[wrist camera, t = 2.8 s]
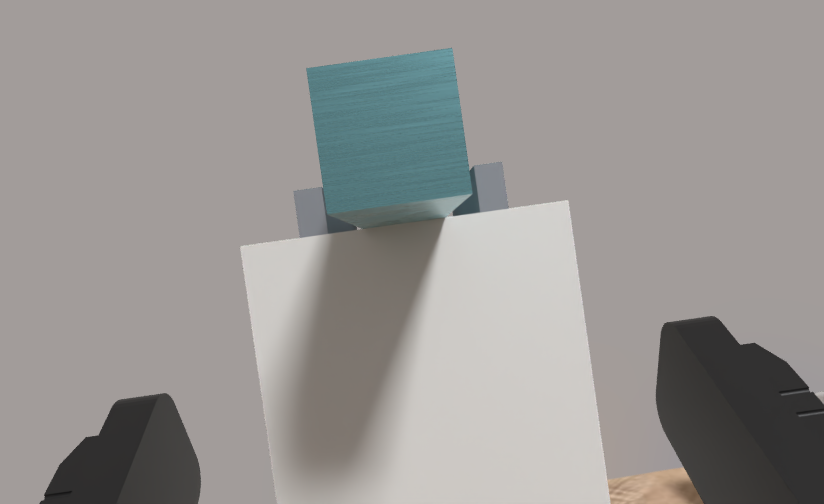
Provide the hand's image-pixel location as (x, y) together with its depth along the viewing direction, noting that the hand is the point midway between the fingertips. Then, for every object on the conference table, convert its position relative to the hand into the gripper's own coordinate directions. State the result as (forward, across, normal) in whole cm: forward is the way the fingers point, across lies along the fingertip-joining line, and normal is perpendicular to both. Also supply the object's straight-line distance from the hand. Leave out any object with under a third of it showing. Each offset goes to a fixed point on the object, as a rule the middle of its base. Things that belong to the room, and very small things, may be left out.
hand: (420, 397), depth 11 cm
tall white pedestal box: (+8, 0, +37) cm, 38 cm away
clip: (+18, 0, +6) cm, 19 cm away
